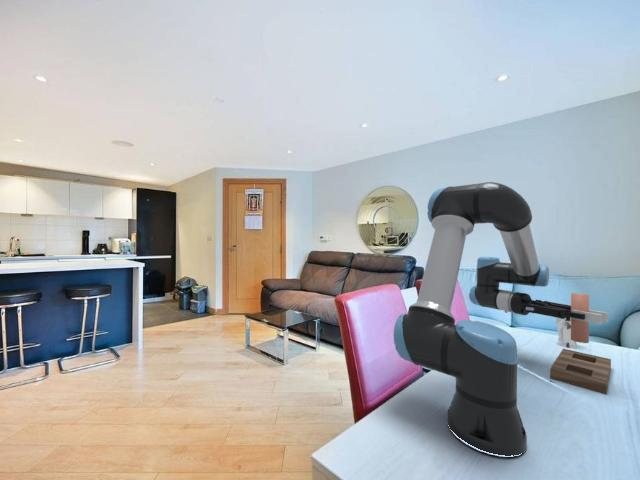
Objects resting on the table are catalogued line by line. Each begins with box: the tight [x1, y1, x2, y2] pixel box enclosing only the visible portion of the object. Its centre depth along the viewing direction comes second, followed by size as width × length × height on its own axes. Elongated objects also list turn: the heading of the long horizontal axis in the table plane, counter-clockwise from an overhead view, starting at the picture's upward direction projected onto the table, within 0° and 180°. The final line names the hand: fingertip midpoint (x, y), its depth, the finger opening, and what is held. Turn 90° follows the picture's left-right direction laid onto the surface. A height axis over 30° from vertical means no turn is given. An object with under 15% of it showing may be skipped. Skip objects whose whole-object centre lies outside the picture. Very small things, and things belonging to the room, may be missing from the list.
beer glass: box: [555, 317, 578, 349], centre depth 113 cm, size 7×7×15 cm
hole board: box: [549, 348, 612, 396], centre depth 89 cm, size 24×12×4 cm, turn 132°
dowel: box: [570, 292, 590, 344], centre depth 85 cm, size 4×4×14 cm
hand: (604, 318), depth 80 cm, fingers closed on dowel, 4 cm apart
